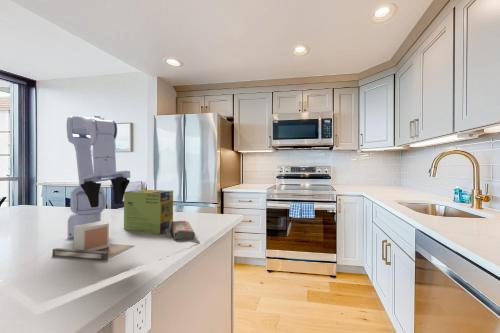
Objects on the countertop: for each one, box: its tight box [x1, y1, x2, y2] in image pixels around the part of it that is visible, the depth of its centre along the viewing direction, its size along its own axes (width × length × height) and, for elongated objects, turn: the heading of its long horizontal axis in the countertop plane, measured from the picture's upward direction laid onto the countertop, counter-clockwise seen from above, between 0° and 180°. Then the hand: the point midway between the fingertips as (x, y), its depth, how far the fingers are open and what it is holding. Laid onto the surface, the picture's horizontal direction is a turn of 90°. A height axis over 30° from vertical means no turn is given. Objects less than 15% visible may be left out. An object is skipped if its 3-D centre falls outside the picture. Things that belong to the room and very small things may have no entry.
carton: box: [73, 221, 110, 251], centre depth 72 cm, size 5×7×7 cm
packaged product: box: [165, 220, 200, 244], centre depth 88 cm, size 18×5×10 cm
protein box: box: [123, 189, 174, 235], centre depth 98 cm, size 10×15×16 cm
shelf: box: [51, 243, 135, 261], centre depth 70 cm, size 16×12×3 cm
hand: (106, 205), depth 71 cm, fingers open, 7 cm apart
